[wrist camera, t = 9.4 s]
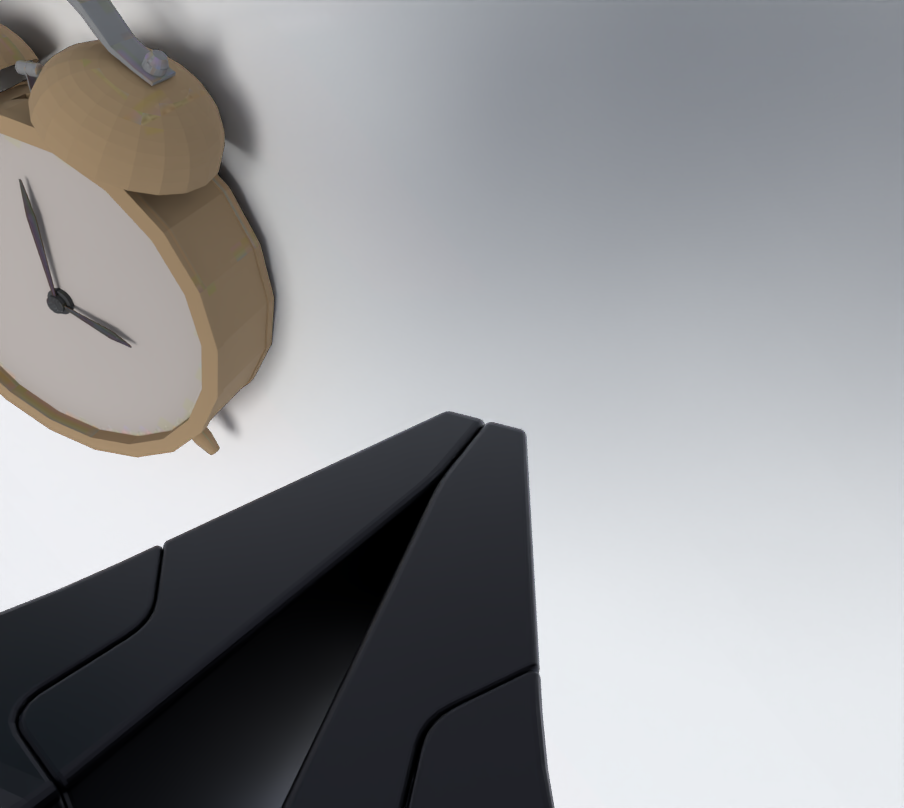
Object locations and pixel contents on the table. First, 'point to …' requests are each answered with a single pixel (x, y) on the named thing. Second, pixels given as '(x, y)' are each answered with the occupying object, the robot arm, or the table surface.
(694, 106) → the table surface
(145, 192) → the alarm clock
